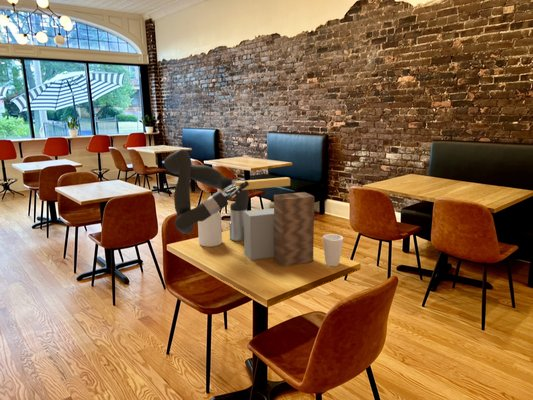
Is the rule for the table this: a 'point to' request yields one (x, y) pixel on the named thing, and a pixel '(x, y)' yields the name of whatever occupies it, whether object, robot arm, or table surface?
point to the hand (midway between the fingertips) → (246, 181)
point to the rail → (265, 183)
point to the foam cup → (332, 249)
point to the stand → (293, 228)
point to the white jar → (210, 231)
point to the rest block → (259, 233)
